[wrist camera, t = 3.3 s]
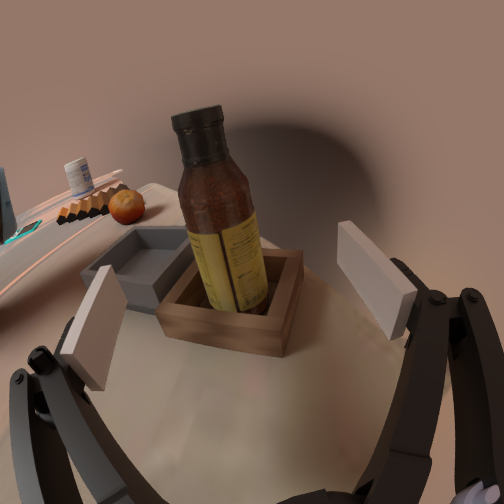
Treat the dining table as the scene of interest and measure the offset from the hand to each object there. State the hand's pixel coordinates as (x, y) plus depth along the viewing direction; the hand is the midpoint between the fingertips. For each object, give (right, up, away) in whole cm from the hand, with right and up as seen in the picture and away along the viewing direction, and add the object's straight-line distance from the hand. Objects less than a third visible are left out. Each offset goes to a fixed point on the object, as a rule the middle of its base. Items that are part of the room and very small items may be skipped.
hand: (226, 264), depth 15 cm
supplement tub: (-63, +22, +75) cm, 100 cm away
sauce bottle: (0, -5, +14) cm, 15 cm away
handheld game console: (-78, +7, +54) cm, 95 cm away
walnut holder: (0, -5, +14) cm, 15 cm away
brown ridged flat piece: (-43, +11, +53) cm, 69 cm away
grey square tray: (-12, -3, +21) cm, 24 cm away
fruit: (-25, +7, +41) cm, 49 cm away
